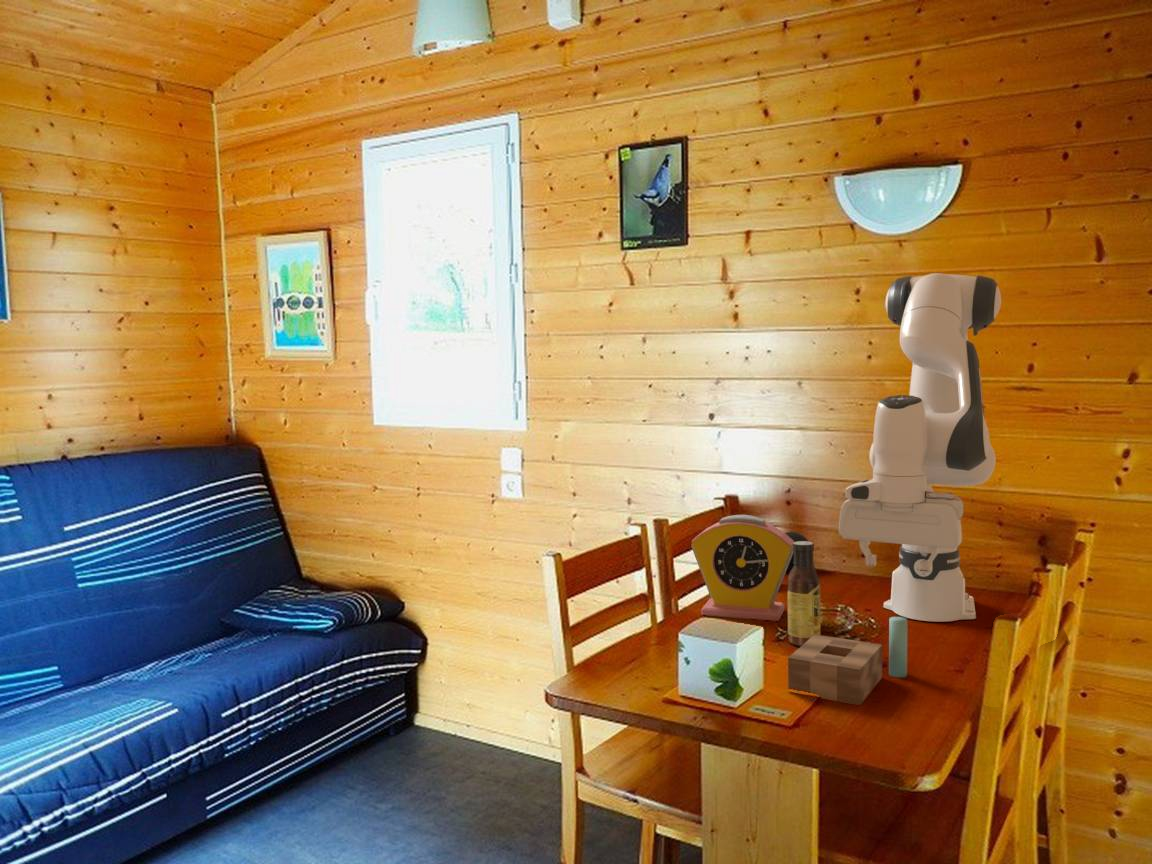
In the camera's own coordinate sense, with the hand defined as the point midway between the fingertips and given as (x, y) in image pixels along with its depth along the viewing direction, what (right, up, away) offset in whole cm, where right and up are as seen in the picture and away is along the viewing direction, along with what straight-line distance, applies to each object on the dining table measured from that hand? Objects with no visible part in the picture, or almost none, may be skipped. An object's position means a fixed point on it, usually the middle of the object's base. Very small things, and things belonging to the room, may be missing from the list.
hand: (898, 568), depth 161 cm
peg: (+1, -19, +2) cm, 19 cm away
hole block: (-12, -20, -2) cm, 23 cm away
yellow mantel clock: (-20, -16, +41) cm, 48 cm away
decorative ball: (-1, -12, +76) cm, 77 cm away
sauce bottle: (-12, -18, +20) cm, 29 cm away
